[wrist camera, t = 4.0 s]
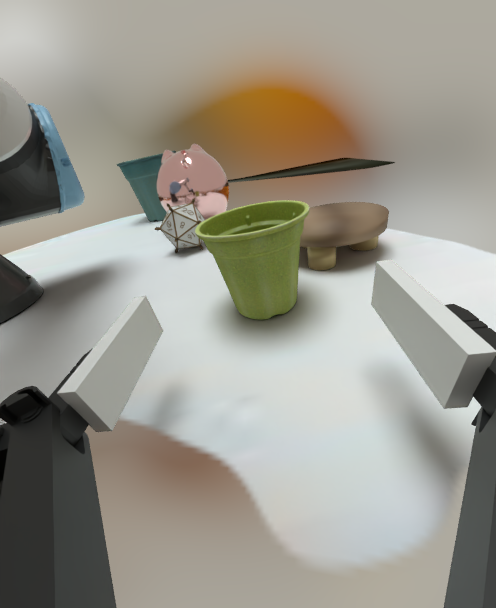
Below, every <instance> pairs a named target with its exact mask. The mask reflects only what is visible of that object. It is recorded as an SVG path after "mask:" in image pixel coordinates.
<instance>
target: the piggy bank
mask: <svg viewBox="0 0 496 608" xmlns="http://www.w3.org/2000/svg"><path fill="white" fill-rule="evenodd" d="M156 189H157V195H158V198H159V201H160V203H161V205H162V207H163V208H164V210H165V211H166V212H167V211H168V209H169V207H168V206H167V203H168V204H169V205H170V207H171V206H177V205H182V204H188V203H192V199H194V198H195V202H194V205H195V206H196V208H197V209H198V210H199V212H200V213H201V215H202V216H203V217H204V219H205V220H206V219H208V218H210V217H212V216H215V215H217V214H220V213H223V212H226V208H227V204H228V198H229V185H228V180H227V177H226V175H225V172H224V170H223V169H222V167H221V166H220V164H219V163H218V162H217V161H216V160H215V159H214V158H213V157H212V156H210V155H208V154H207V153H206V152H205V151H204V150H203V149H202V148H201V147H200V146H199V145H197V144H193V145H192V146H191V148H190V149H189V150H182V151H179V152H176V153H173V152H171V151H170V150H165V151H164V153H163V156H162V161H161V165H160V168H159V170H158V173H157V179H156Z"/></svg>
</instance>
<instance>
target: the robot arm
mask: <svg viewBox="0 0 496 608" xmlns="http://www.w3.org/2000/svg"><path fill="white" fill-rule="evenodd" d="M83 201H84V192H83V190H82V187H81V185H80V182H79V180H78V178H77V176H76V173H75V171H74V168H73V166H72V164H71V162H70V160H69V157H68V155H67V152H66V150H65V147H64V145H63V143H62V140H61V138H60V136H59V134H58V131H57V129H56V127H55V124H54V122H53V120H52V118H51V115H50V113H49V111H48V110H47V109H46V108H45V107H44V106H41V105H35V104H33V103H31V104H28V105H27V103H26V102H25V100H24V99H23V98H22V96H21V95H20V94H19V93H18V91H17V90H16V89H15V88H13V87H12V86H11V85H10V84H9V83H7V82H6V81H4V80H3V79H1V78H0V227H1V226H5V225H9V224H13V223H18V222H22V221H26V220H30V219H35V218H39V217H43V216H47V215H52V214H56V213H62V212H64V210H67V209H70V208H73V207H76V206H79V205H81V204H82V203H83ZM42 293H43V289H42V288H41V286H40V285H39V284H38V282H37V281H36V280H35V279H34V278H33V277H32V276H30V275H28V274H27V273H25V272H24V271H23V270H22V269H20V268H19V267H18V266H16V265H15V264H13V263H12V262H11V261H9V260H8V259H6V258H5V257H3V256H2V255H0V323H2V322H3V321H5V320H7V319H9V318H11V317H13V316H14V315H16V314H18V313H19V312H21V311H23V310H24V309H26V308H27V307H29V306H30V305H31V304H33V303H34V302H35V301H36V300H37V299H38V298H39V297H40V296H41V295H42ZM371 305H372V306H373V308H374V309H375V311H376V312H377V313H378V315H379V316H380V318H381V319H382V321H383V322H384V324H385V325H386V326H387V328H388V329H389V331H390V332H391V334H392V335H393V336H394V338H395V339H396V341H397V342H398V344H399V345H400V346H401V348H402V349H403V351H404V352H405V354H406V355H407V357H408V358H409V359H410V361H411V362H412V364H413V365H414V367H415V368H416V369H417V371H418V372H419V374H420V375H421V377H422V378H423V380H424V381H425V382H426V384H427V385H428V387H429V388H430V390H431V391H432V392H433V394H434V395H435V397H436V398H437V400H438V401H439V402H440V404H441V405H442V407H443V408H444V409H446V408H461V407H468V405H469V403H470V402H471V400H472V398H473V397H474V398H475V399H476V400H477V401H478V403H479V404H480V405H481V406H482V407H481V409H480V410H479V412H478V414H477V415H476V417H475V419H474V420H473V422H472V425H474V426H476V429H475V435H474V440H473V446H472V451H471V457H470V463H469V468H468V474H467V479H466V485H465V491H464V496H463V502H462V508H461V513H460V519H459V524H458V531H457V536H456V541H455V547H454V552H453V558H452V564H451V569H450V575H449V581H448V587H447V592H446V598H445V603H444V608H496V332H494V331H493V330H492V329H491V328H488V326H487V325H486V324H484V323H483V322H482V321H479V319H478V318H477V317H476V316H474V315H473V314H472V313H471V312H469V311H468V310H466V309H464V308H462V307H459V306H457V305H455V304H449V305H443V304H442V303H441V302H440V301H439V300H438V299H437V298H435V297H434V296H433V295H432V294H431V293H430V292H429V291H427V290H426V289H425V288H424V287H423V286H422V285H421V284H419V283H418V282H417V281H416V280H415V279H414V278H413V277H411V276H410V275H409V274H408V273H407V272H406V271H405V270H403V269H402V268H401V267H400V266H399V265H398V264H397V263H395V262H394V261H393V260H392V259H391V260H384V261H378V262H376V269H375V277H374V285H373V294H372V302H371ZM162 332H163V329H162V327H161V325H160V323H159V321H158V319H157V317H156V315H155V313H154V311H153V309H152V307H151V305H150V303H149V301H148V299H147V297H146V296H142V297H136V298H133V300H132V301H131V302H130V303H129V305H128V306H127V307H126V308H125V310H124V311H123V312H122V313H121V315H120V316H119V317H118V318H117V320H116V321H115V322H114V323H113V324H112V326H111V327H110V328H109V329H108V331H107V332H106V333H105V334H104V336H103V337H102V338H101V339H100V341H99V342H98V343H97V344H96V346H95V347H94V348H93V349H91V350H90V351H89V352H88V353H86V354H85V355H84V356H83V357H82V358H81V359H80V360H79V362H78V363H77V364H76V366H75V367H74V368H73V369H72V370H71V371H70V373H69V374H68V375H67V376H66V377H65V379H64V380H63V381H62V382H61V383H60V385H59V386H58V387H57V388H56V390H55V391H54V392H53V393H52V394H51V396H50V397H49V398H48V397H46V396H45V395H44V394H43V393H42V392H41V391H40V390H39V389H38V388H37V387H34V386H30V387H25V388H23V389H21V390H18V391H17V392H15V393H13V394H12V395H10V396H9V397H8V398H7V399H5V400H4V401H3V402H2V403H1V404H0V418H1V419H3V420H4V421H5V422H7V423H6V424H3V425H0V608H116V603H115V596H114V591H113V584H112V578H111V572H110V566H109V560H108V554H107V548H106V542H105V536H104V529H103V523H102V517H101V511H100V506H99V499H98V493H97V487H96V481H95V475H94V469H93V462H92V456H91V451H90V444H89V438H88V436H87V434H86V433H85V432H84V431H85V430H86V428H87V426H88V425H90V426H91V427H92V428H93V429H94V430H95V431H96V432H103V431H112V430H113V428H114V426H115V424H116V422H117V420H118V418H119V416H120V414H121V413H122V411H123V409H124V407H125V405H126V403H127V401H128V399H129V397H130V395H131V393H132V391H133V389H134V387H135V385H136V383H137V381H138V379H139V377H140V375H141V373H142V371H143V369H144V367H145V365H146V364H147V362H148V360H149V358H150V356H151V354H152V352H153V350H154V348H155V346H156V344H157V342H158V340H159V338H160V336H161V334H162Z"/></svg>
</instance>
